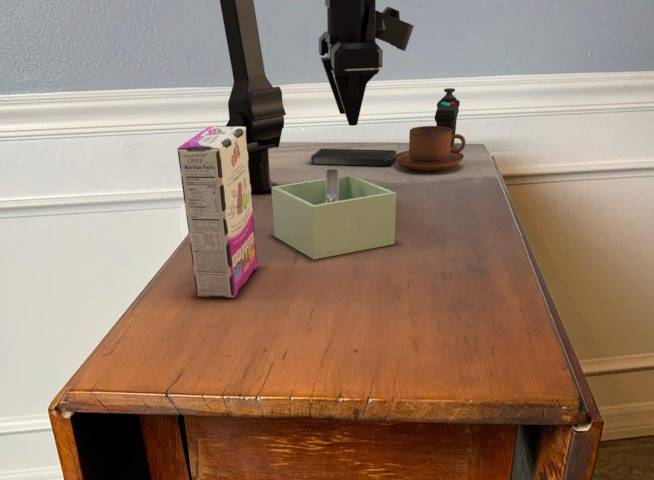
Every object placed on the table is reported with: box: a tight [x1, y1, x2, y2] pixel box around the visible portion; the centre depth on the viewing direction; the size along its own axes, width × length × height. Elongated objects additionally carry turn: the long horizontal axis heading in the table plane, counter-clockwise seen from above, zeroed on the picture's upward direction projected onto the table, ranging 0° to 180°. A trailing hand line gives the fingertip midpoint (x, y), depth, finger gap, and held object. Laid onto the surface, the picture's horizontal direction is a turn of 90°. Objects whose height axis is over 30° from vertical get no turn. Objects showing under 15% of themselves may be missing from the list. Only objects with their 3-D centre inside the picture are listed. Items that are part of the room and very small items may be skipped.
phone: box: [310, 148, 398, 167], centre depth 148 cm, size 8×1×15 cm
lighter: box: [325, 166, 340, 203], centre depth 107 cm, size 7×2×8 cm, turn 176°
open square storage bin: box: [271, 174, 397, 261], centre depth 107 cm, size 12×12×7 cm
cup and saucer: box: [395, 125, 466, 172], centre depth 140 cm, size 12×12×6 cm
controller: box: [434, 87, 461, 148], centre depth 151 cm, size 4×12×10 cm, turn 168°
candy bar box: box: [176, 125, 258, 299], centre depth 91 cm, size 11×5×16 cm, turn 168°
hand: (348, 119), depth 112 cm, fingers open, 9 cm apart
